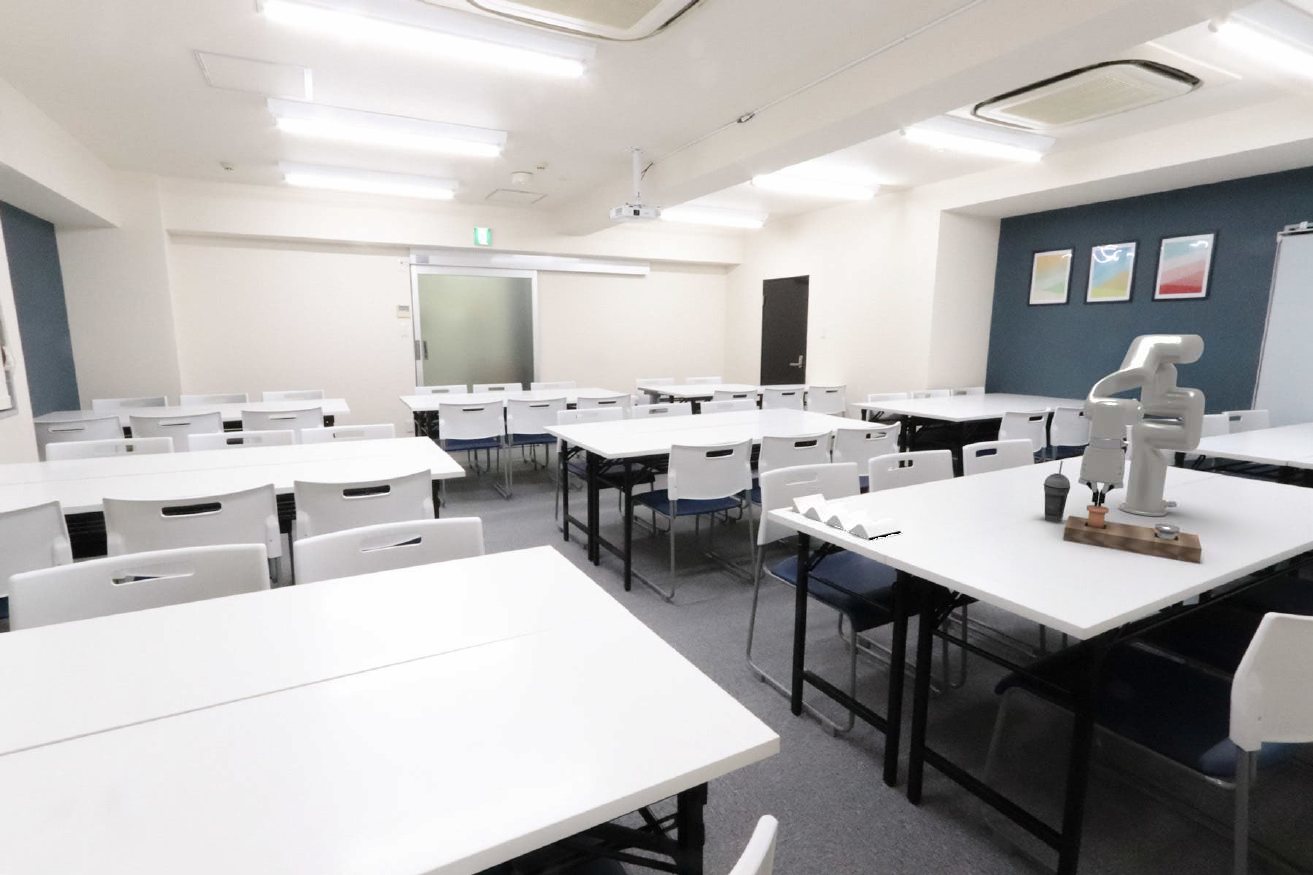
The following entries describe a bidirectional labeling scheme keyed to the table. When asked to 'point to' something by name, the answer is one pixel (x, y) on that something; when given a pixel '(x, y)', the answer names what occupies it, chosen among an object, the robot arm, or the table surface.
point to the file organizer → (844, 517)
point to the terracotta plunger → (1096, 516)
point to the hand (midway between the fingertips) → (1097, 505)
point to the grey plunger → (1167, 531)
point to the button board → (1133, 539)
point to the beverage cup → (1056, 496)
